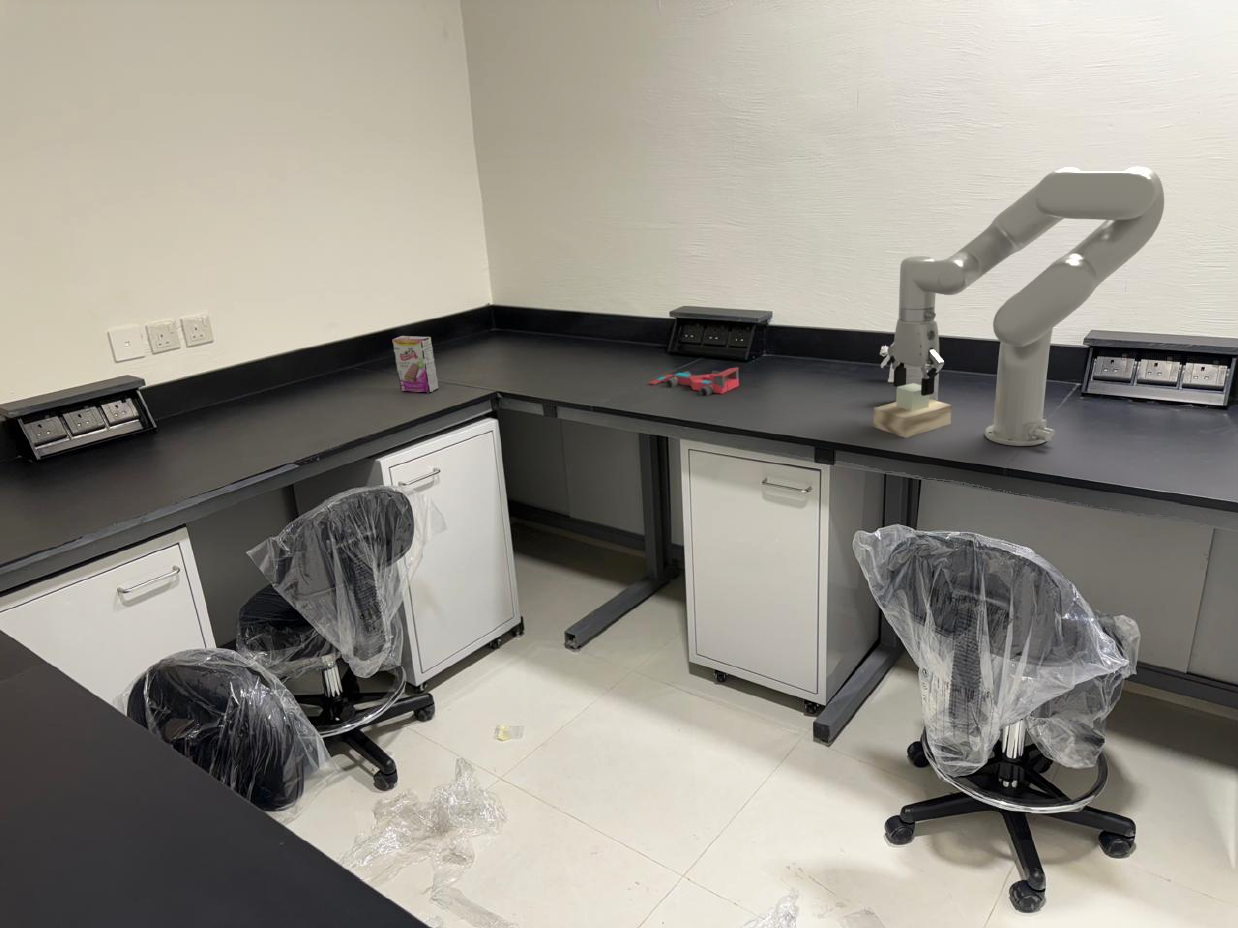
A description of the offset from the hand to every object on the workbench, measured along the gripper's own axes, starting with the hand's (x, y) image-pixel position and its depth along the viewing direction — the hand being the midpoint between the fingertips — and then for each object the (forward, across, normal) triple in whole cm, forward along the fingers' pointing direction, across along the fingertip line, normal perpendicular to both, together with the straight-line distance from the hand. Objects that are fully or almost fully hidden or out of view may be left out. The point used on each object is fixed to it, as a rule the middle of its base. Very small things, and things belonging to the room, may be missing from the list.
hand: (913, 389), depth 199 cm
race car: (+9, +62, +23) cm, 67 cm away
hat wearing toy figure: (+9, +30, -21) cm, 38 cm away
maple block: (+9, 0, 0) cm, 9 cm away
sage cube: (+4, 0, 0) cm, 4 cm away
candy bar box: (+9, +111, +91) cm, 144 cm away
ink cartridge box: (+9, +12, -12) cm, 19 cm away
